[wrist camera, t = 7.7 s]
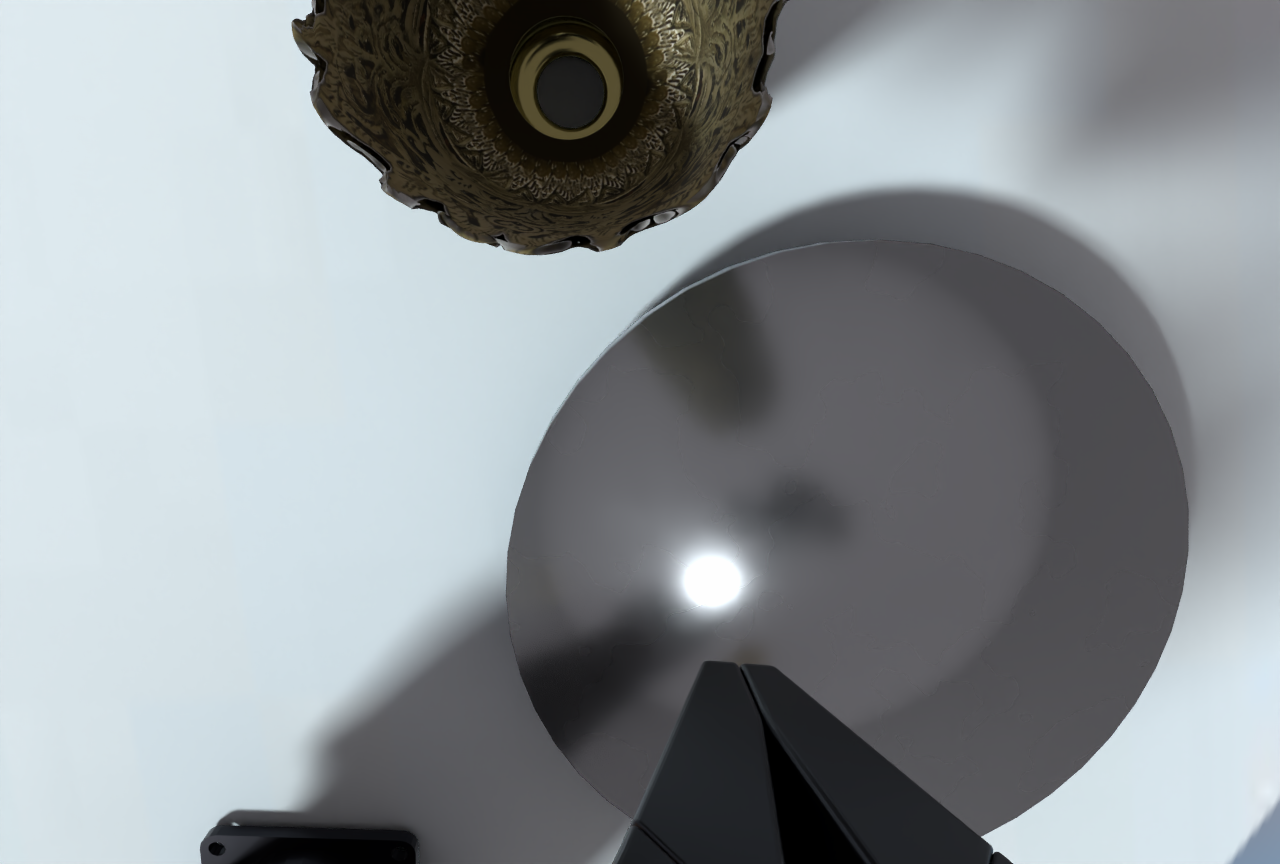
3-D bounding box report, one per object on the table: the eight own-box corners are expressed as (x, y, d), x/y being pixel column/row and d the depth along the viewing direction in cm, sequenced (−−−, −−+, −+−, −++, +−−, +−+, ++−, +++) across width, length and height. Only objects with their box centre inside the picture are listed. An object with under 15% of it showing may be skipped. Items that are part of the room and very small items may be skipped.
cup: (439, -113, 17) (300, -392, 10) (749, -41, 18) (852, -250, 10) (403, 217, 19) (261, 204, 11) (685, 272, 20) (733, 295, 12)
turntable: (395, 688, 21) (340, 802, 17) (741, 91, 18) (783, 45, 13) (912, 933, 24) (977, 1084, 20) (1300, 463, 20) (1482, 523, 16)
